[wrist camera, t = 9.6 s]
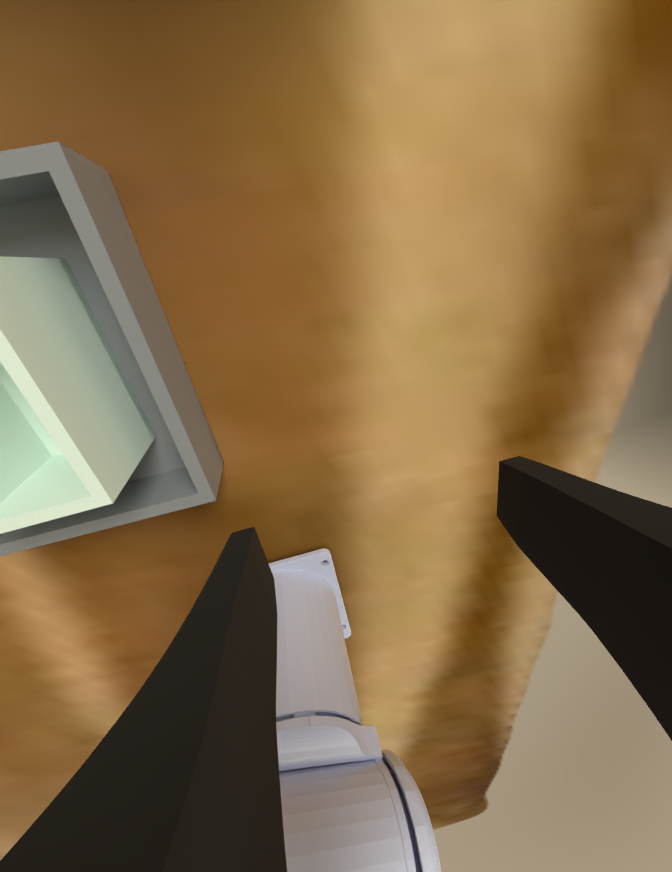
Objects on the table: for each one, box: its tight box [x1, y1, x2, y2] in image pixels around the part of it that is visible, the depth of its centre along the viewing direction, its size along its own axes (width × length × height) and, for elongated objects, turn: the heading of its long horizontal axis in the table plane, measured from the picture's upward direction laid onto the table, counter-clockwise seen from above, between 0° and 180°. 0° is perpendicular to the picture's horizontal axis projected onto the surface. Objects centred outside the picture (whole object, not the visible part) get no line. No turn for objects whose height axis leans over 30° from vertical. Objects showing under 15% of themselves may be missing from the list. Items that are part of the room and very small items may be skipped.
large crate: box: [0, 141, 224, 556], centre depth 14 cm, size 13×10×4 cm
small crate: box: [0, 256, 156, 534], centre depth 13 cm, size 8×5×6 cm, turn 12°
